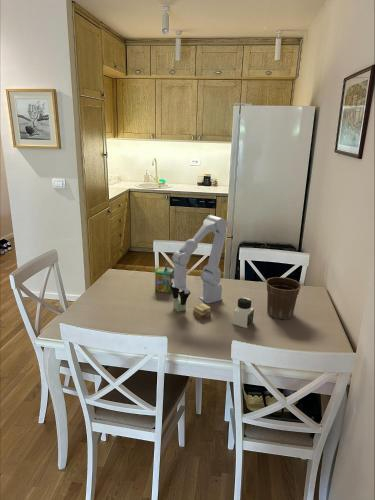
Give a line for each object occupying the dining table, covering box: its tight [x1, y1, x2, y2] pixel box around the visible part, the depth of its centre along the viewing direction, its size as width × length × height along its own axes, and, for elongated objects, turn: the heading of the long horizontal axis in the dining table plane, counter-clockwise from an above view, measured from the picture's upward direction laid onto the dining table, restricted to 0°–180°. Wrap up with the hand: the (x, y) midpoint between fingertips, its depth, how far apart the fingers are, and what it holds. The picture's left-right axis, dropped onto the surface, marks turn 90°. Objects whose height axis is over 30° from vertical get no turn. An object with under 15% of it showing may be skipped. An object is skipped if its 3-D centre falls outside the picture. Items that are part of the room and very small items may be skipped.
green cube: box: [172, 297, 187, 312], centre depth 179 cm, size 4×4×4 cm
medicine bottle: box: [232, 297, 255, 329], centre depth 166 cm, size 7×7×12 cm
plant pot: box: [265, 276, 302, 320], centre depth 175 cm, size 16×16×16 cm
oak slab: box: [193, 302, 212, 315], centre depth 173 cm, size 6×6×2 cm
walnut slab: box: [192, 309, 212, 321], centre depth 174 cm, size 6×6×2 cm
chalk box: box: [154, 263, 174, 294], centre depth 199 cm, size 9×9×15 cm
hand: (179, 301), depth 179 cm, fingers open, 7 cm apart
